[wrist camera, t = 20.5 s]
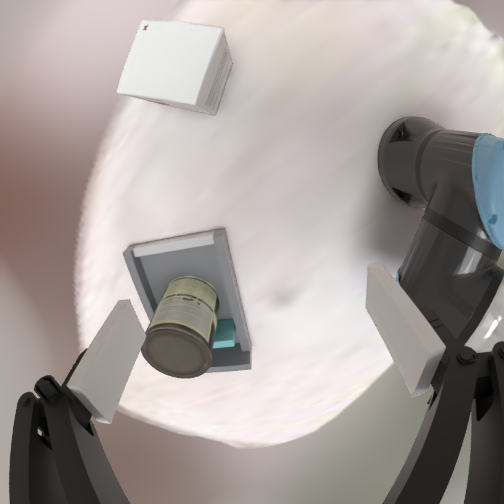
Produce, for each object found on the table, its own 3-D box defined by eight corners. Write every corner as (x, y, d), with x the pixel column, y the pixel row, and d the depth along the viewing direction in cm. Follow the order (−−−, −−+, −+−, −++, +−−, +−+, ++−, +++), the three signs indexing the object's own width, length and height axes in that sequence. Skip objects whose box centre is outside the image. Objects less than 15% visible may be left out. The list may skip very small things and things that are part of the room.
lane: (129, 245, 44) (113, 262, 38) (224, 228, 43) (220, 244, 37) (172, 351, 54) (165, 374, 48) (251, 345, 53) (251, 369, 47)
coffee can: (229, 314, 49) (223, 373, 36) (180, 326, 50) (163, 382, 37) (206, 266, 45) (190, 320, 32) (155, 283, 46) (126, 335, 33)
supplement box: (158, 105, 35) (112, 94, 21) (176, 52, 31) (140, 17, 17) (216, 117, 36) (195, 107, 22) (234, 62, 32) (225, 25, 18)
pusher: (166, 325, 50) (159, 345, 45) (234, 318, 49) (232, 340, 44) (169, 331, 51) (162, 351, 45) (236, 324, 50) (234, 346, 44)
